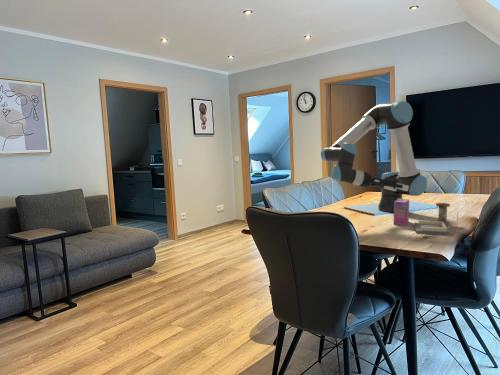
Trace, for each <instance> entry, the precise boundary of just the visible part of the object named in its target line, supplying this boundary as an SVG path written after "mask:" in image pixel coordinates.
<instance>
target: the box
mask: <svg viewBox="0 0 500 375" xmlns="http://www.w3.org/2000/svg"><path fill="white" fill-rule="evenodd" d="M409 212H410V199H409V198H402V199H397V200H396V201H395V202H394V212H393V225H395V226H406V225H407V224H408V222H409V216H410V215H409V214H410V213H409Z"/></svg>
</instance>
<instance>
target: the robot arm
mask: <svg viewBox="0 0 500 375" xmlns="http://www.w3.org/2000/svg"><path fill="white" fill-rule="evenodd" d="M413 116H414V112H413V108H412V106H411V104H410V103H409V102H408V101H404V100H396V101H390V102H383V103H379V104H377V105H375V106H374V107H372V108H371V109H369V110H368V111H367V112H366V113H365V114H362V116H361V119H360V120H359V121H358V122H357V123H356V124H355V125H353V126H352V127H351V128H350V129H349V130H348V131H347V132H346V133H345V134H343V135H342V136H341V137H340V138H338V140H337V139H336V141H335V142H334V143H332V145H330V146H329V147H324V148H323V149H322V150H321V152H320V158H321V160H323V161H325V162H330V163H331V162H332V163H337V164H333V166H332V167H331V170H330V178H331V179H332V180H335V181H338V182H342V183H347V184H351V185H353V187H355V186H360V187H363V188H369V187H370V186H371V187H376V188H378V189H381V197H380V201H379V203H378V206H377V207H378V209H379V210H378V211H380V210H381V211H382V212H386V211H387V213H394V202H395V201H396V200H397V199H403V195H405V196H411V197H414V196H415V197H417V196H421V195H423V193H424V192H425V190H426V189H427V186H428V181H427V177H426V176H424V175H422V174H421V171H420V169H418V168H417V166H416V161H415V157H414V156H415V155H414V151H413V146H412V142H411V137H410V132H409V128H408V127H409V126H410V124H411V120H412V119H413ZM383 125H386V128H387V130H388V131H390V132H391V139H392V141H393V147H394V151H395V156H396V160H397V165H398V170H399V171H391V172H384V173H382V175H381V178H378V177H373V175H372V174H371V173H370V172H367V171H363V170H359V169H355V168H353V167H354V162H355V160H356V155H357V150H358V147H357V145H356V143H357V142H358V141H360V139H361V138H362V137H364V136H365V135H366V134H367V133H368V132H369V131H371V130H375V129H376V127H379V126H383ZM381 211H380V212H381Z"/></svg>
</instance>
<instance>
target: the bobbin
mask: <svg viewBox="0 0 500 375" xmlns="http://www.w3.org/2000/svg"><path fill="white" fill-rule="evenodd" d="M435 206H436V207H438V219H437V221H443V222H444V224H447V226H448V224H449V225H450V221H448V218H447V217H448V215H447V214H448V208H450V207H451V204H450V203H447V202H437V203H436V204H435Z"/></svg>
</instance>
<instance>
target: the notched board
mask: <svg viewBox="0 0 500 375" xmlns="http://www.w3.org/2000/svg"><path fill="white" fill-rule="evenodd" d="M414 229H415V233H416V234H420V233H426V234H425V235H438V234H451V235H452V231H451V230H450V228H449V226H448V225H447V224H444V222H443V221H438V220H420V219H419V221H418V222H414Z"/></svg>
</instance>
